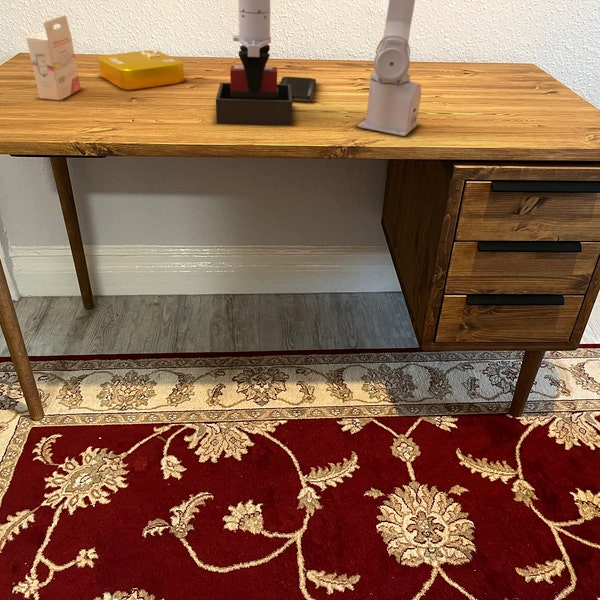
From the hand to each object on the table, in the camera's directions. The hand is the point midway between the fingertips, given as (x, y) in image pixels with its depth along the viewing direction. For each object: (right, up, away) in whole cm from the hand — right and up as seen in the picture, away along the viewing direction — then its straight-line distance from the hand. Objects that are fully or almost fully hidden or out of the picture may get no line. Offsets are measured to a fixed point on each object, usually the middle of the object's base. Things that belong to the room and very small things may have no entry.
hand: (254, 88), depth 114 cm
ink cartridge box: (-41, +2, +9) cm, 43 cm away
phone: (+8, +5, +17) cm, 20 cm away
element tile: (-27, +10, +21) cm, 36 cm away
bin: (0, -4, +3) cm, 5 cm away
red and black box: (0, -1, +1) cm, 1 cm away
